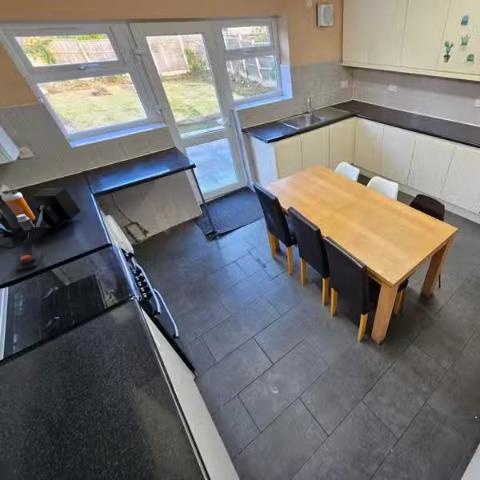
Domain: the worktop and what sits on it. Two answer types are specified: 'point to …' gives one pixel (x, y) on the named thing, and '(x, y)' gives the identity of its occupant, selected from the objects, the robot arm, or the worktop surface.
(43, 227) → the toaster lever
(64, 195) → the toaster
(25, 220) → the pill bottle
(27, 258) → the timer button
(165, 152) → the worktop surface
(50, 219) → the lever bracket
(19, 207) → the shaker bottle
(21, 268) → the timer block
